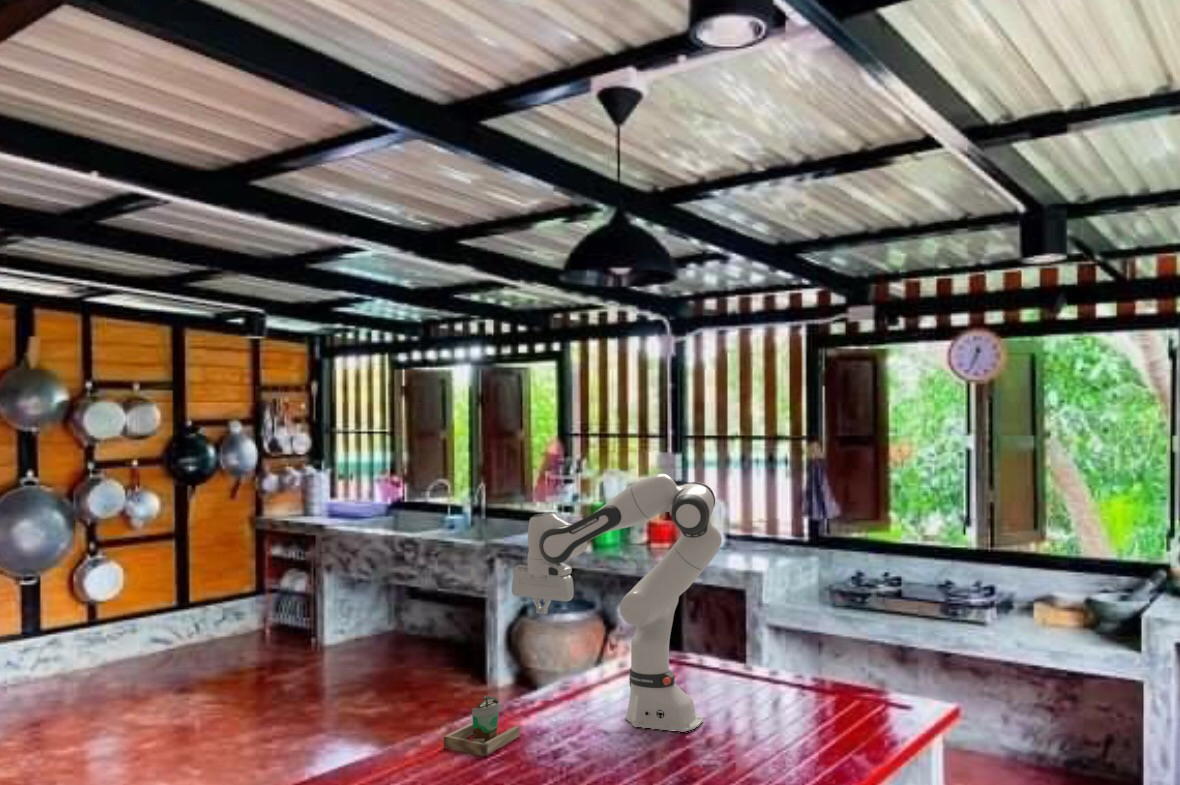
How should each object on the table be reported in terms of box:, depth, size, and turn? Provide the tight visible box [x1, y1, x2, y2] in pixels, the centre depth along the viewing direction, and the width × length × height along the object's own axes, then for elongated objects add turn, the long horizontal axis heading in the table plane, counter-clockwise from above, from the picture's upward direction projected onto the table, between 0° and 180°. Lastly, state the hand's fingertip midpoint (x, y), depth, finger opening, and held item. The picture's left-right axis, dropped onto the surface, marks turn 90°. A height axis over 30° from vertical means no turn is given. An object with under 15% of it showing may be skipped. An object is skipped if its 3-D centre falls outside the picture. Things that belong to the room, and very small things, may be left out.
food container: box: [471, 695, 502, 743], centre depth 248 cm, size 12×6×10 cm, turn 170°
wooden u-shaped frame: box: [443, 721, 521, 757], centre depth 245 cm, size 13×16×3 cm
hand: (541, 613), depth 272 cm, fingers closed
